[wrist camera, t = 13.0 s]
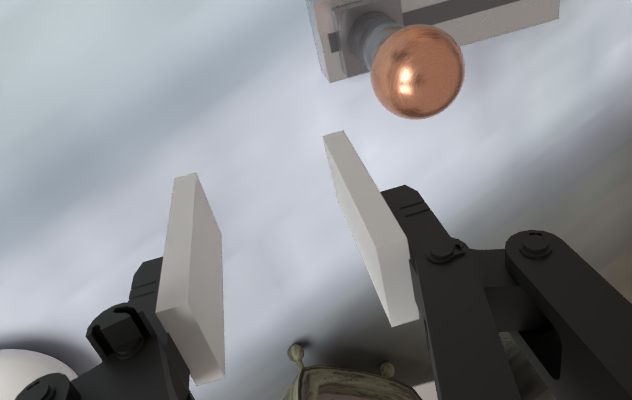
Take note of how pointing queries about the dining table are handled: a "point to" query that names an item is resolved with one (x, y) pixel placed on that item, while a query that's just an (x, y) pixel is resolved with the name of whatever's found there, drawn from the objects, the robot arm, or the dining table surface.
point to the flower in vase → (26, 370)
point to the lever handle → (399, 57)
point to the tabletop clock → (345, 383)
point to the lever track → (435, 22)
